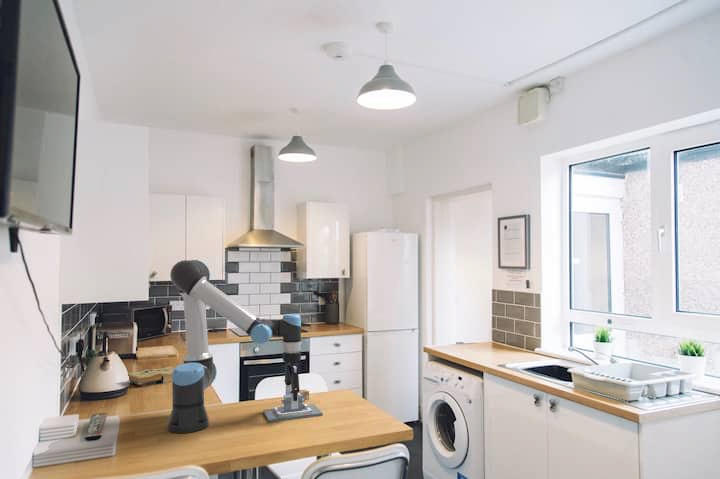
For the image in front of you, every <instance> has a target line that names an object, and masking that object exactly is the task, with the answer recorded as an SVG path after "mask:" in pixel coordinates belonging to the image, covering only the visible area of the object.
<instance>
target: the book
mask: <svg viewBox="0 0 720 479" xmlns="http://www.w3.org/2000/svg"><path fill="white" fill-rule="evenodd" d="M175 368H176V367H173V366H172V365H169V366H167V367H162V368H153V369H144V370H141V371H138V372H137V371H136V372H133V371H132V372H129V373H128V374H127V375H128V376H129V380H130V381H129V380H128V381H129V382H132V383H133V384H134V385H137V386H139V387H141V388H143V387H148V386H154V385H157V384H158V385H159V384H160V385H163V384H169V383H172V375H173V370H174V369H175Z"/></svg>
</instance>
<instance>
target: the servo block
mask: <svg viewBox="0 0 720 479" xmlns="http://www.w3.org/2000/svg"><path fill="white" fill-rule="evenodd" d="M280 402H281V404H282V405H283V406H284V412H285V413H288V412H296V411H303V407H302V403H306V401H305V400H304V399H303V398H302V395H301V394H300V393H298V409H291V395H286V394H285V395H283V399H281V401H280Z"/></svg>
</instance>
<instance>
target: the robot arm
mask: <svg viewBox="0 0 720 479" xmlns="http://www.w3.org/2000/svg"><path fill="white" fill-rule="evenodd" d="M169 276H170V281H171V283H172V284H173V285H174V286H175V287H176V288H177V289H178V294H179V295H180V296H182V298H183V312H184V323H185V324H184V325H185V326H184V327H185V340H186V341H185V343H186V353H187V354H186V356H185V357H184V358H183V364H179V365H177V366H175V367H174V368H175V369H174V370H173V375H172V382H171V384H172V386H171V387H172V392H171V393H172V394H171V396H172V407H171V408H172V409H171V412H170V414H169V418H168V421H167V431H168V432H170V433H175V434H187V433H194V432H197V431H201V430H203V429H206V428H207V427H208V426H209V425H210V424H209V422H210V421H209V416H208V412H207V409H206V405H205V390H206V389H207V388H209V387H210V386H211V385H212V384H213V383H214V381H215V380H216V376H217V373H218V372H217V371H218V370H217V367H216V364H215V363H214V358H213V357H214V356H213V354H212V353H210V352H209V339H208V337H209V336H208V323H207V322H208V321H207V309H206V307H207V306H208V307H209V308H210V309H212V310H214V311H215V312H216V313H217V314H219V315H220V316H222V317H223V318H224V319H225V320H228V321H229V322H230V323H231V324H233V325H234V326H236V327H237V328H238V329H240V330H241V331H242V332H244V333H245V334H247V335H248V336H250V338H251V340H252V341H253V343H255V344H258V345H261V344H266V343H268V342H269V341H270V340H271V339H272V338H282V351H283V352H282V361H283V362H284V363H285V369H284V370H285V371H284V372H285V373H284V383H285V384H284V385H285V395H291V409H298V392H300V390H301V389H300V379H299V366H298V365H297V363H298V362H300V361H301V360H302V352H301V350H302V348H301V347H302V345H303V343H302V317H301V316H300V314H298V313H286V314H283V316H282V318H279V319H275V318H273V319H272V318H271V319H270V318H267V319H266V318H262V319H261V318H259V317H258V316H257V315H255V314H254V313H253V312H252V311H250V310H248V309H247V308H245V307H244V306H243V305H242V304H240V303H239V302H237V301H236V300H234V299H233V298H231V297H230V296H229V295H228V294H226V293H225V292H223V291H222V290H220V289H219V288H218V287H217V286H215V285H213V284H212V283H211V282H209V281H210V279H211V270H210V268H209V267H208V265H207V264H206V263H205V262H203V261H200V260H198V259H191V260H187V259H185V260H180V261H178V262H176V263H175V264H174V265H172V267H171V270H170V274H169Z"/></svg>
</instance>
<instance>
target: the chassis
mask: <svg viewBox="0 0 720 479" xmlns="http://www.w3.org/2000/svg"><path fill="white" fill-rule="evenodd" d="M302 407H303V411H296V412H288V413H285V412H284V405H277V406H276V405H275V406H273V408H268V409H263V412H262V413H263V414H264V416H265V418H266V420H267V421H268V423H275V422H281V421H291V420H299V419H306V418H307V419H308V418H313V417H314V418H315V417H321V416H323V415H324V414H323V411H321V410H320V409H319V408H318V407H317V406H316V404H315V403H311V404H307V403H306V402H302Z"/></svg>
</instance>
